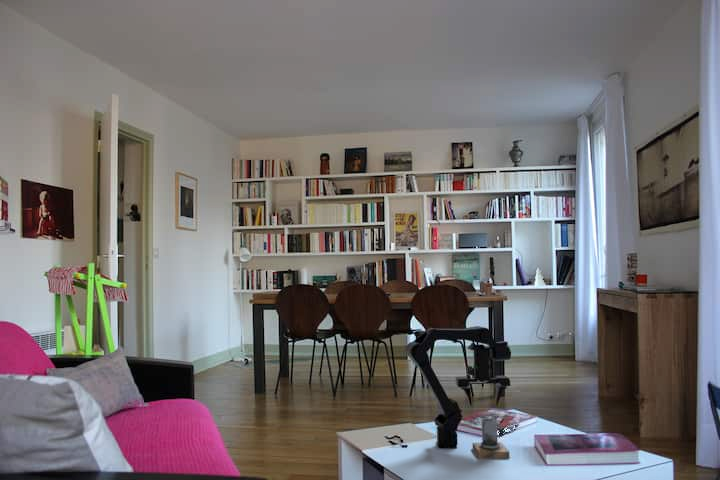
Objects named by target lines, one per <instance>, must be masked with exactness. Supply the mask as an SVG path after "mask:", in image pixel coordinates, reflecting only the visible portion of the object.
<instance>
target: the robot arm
mask: <svg viewBox="0 0 720 480" xmlns="http://www.w3.org/2000/svg"><path fill="white" fill-rule="evenodd" d="M438 340H440V341H441V340H445V341H448V340H450V341H454V340H455V341H469V342H471V344H470V345H469V346H467V349H468V350H470V351H473V366H472V365H467V366H466V375H467V376H471V378H469V377H467V376H456V377H455V385H456V386H457V388H460V390H463V392H464V393H465V396H466V398H467V400H468V404H469V406H470V407H472V394H471V388H470V385H487V384H489V385H490V384H491V385H492V384H493V385H494V387H495V394H494V395H495V396H494V404H495V406H498V404H499V401H500V399H501V396H502V395H503V392H504V390H506V389H508V387H511V379H510V378H509V377H508V376H507V375H495V377H494V378H493V377H491V360H492V361H493V362H498V361H499V362H500V361H509V360H511V357H512V351H511V348H510V345H508V344H509V343H508V341H506V340H505V341H504V340H502V341H496V340H495V339H494V338H493V336H492V332H491V331H490V329H489V328H488V327H484V326H479V325H477V326H470V327H467V328H433V327H428V328H427V329H426V330H425V331H424V332H423V333H422V334H420V335H419V336H417V337H416V338H415V339H414V340H413V341H411V342H409V343H407V345H406V347H405V354H406V356H407V357H408V358H409V359H410V360H411V362H412V363H413V364H414V365H415V366H416V368H417V369H418V370H419V372H420V373H421V375H422V377H423V379H424V380H425V383H426V385H427V386H428V388H429V390H430V392H431V393H432V395H433V398H434V399H435V400H436V403H437V409H438V412H439V414H438V415H437V416H436V417H435V419H434V420H433V421H434V422H433V423H434V425H435V426H436V441H435V444H436V447H438V449H440V450H441V449H458V444H459V443H458V432H457V430H458V427H459V424H460V423H461V421H462V420H463V414H462V412H463V410H462V409H460V406H459V404H458V401H456V400H455V399H453V398H451V397H448V395H447V393H446V390H445V389H444V387H443V386H442V384H441V382H440V380H439V378H438V376H437V374H436V373H435V371H434V369H433V367H432V365H431V363H430V356H429V354H428V353H429V352H428V351H430V349H431V348H432V347H433V345H434V344H435V342H436V341H438ZM476 343H478V344H476ZM485 345H487V346H485Z"/></svg>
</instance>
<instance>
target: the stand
mask: <svg viewBox="0 0 720 480" xmlns="http://www.w3.org/2000/svg"><path fill="white" fill-rule="evenodd" d="M498 443H499V446H500V448H499V449H496V450H487V449H483V448H481V442H472V450H473V452H474V454H476V456H477V458H478V459H480V460H481V459H484V460H485V459H510V451H509V450H508V449H507V447H506V446H505V445H504V443H502V442H500V441H498Z"/></svg>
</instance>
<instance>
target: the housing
mask: <svg viewBox="0 0 720 480" xmlns="http://www.w3.org/2000/svg"><path fill="white" fill-rule="evenodd" d="M496 419H497V418H494V416H493V415H485V417H483V418H482V419H481V434H482V435H481V436H482V437H481V442H480V443H481V448H483V449H487V450H496V449H499V448H500V446H499V443H498V442H499V440H498V435H497V420H496Z"/></svg>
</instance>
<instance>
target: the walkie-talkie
mask: <svg viewBox="0 0 720 480" xmlns="http://www.w3.org/2000/svg"><path fill="white" fill-rule="evenodd" d="M495 419H496V420H497V430H499V432H500V433H499V432H498V433H499V435H500V436H504V434H505V433H504V432H505V430H504V428H505V427H506V426H507V425H508V423H509V422H510V421H508V420H505V418H504V417H499V416H498V417H497V418H495ZM513 428H514V425H511V426H509V427H507V429H510V430H511V431H512V432H514V431H513ZM507 429H506V430H507ZM503 430H504V431H503ZM503 433H504V434H503ZM500 436H499V437H500Z"/></svg>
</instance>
